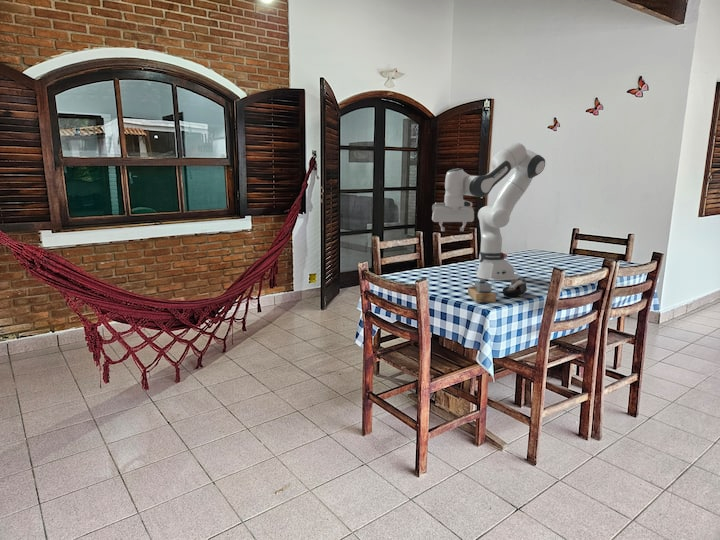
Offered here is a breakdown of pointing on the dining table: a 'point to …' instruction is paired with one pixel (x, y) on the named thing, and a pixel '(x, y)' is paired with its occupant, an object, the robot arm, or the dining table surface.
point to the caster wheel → (515, 288)
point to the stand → (481, 295)
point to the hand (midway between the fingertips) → (452, 231)
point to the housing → (482, 286)
